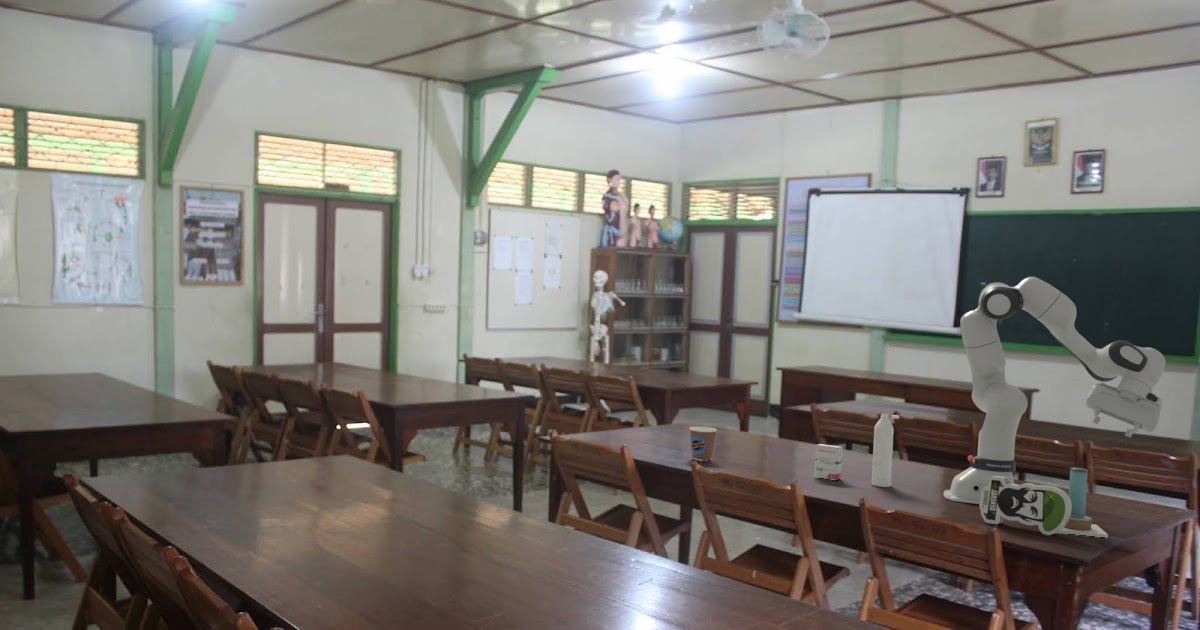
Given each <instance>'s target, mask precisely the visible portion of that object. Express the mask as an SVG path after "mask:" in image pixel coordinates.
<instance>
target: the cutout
mask: <svg viewBox="0 0 1200 630" xmlns="http://www.w3.org/2000/svg"><path fill="white" fill-rule="evenodd" d="M978 506H979V509H980V515H981V517H982V519H983V522H985V523H986V524H992V525H999V524H1001V523H1003V522H1004V519H1005V520H1007V521H1012V522H1013V521H1014V522H1015V521H1016V522H1019V523H1021V524H1022V525H1026V526H1029V527H1030V526H1037V528H1038V530H1039V532H1040V533H1041V534H1043V535H1045V534H1046V535H1045V536H1052V535H1054V534H1057V532H1058V531H1060V530H1061V529H1063V528H1064V527H1065V525H1066V524H1067V523H1068V521H1069V519H1070V516H1071V510H1072V504H1071V500H1070V497H1069V493H1067V492H1066V491H1065V490H1063V489H1062V488H1059V487H1057V486H1054V485H1046V484H1045V485H1043V484H1035V483H1030V482H1027V483H1022V484H1017V483H1014V484H1011V483H1010V482H1009V480H1008V479H1007V478H1006V477H1003V476H992V477H990V478H989V482H988V486H987V487H984V488H983V489H982V492H981V499H980V504H978Z"/></svg>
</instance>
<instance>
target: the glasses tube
mask: <svg viewBox="0 0 1200 630" xmlns="http://www.w3.org/2000/svg"><path fill="white" fill-rule="evenodd" d="M1088 472H1089V469H1087V468H1083V467H1070V468H1069V485H1068V496H1069V497H1070V500H1071V504H1072V510H1071V516H1070V517H1071V518H1077V519H1084V518H1085V516H1086V507H1087V506H1086V505H1087V504H1086V503H1087V491H1088V490H1087V487H1088Z"/></svg>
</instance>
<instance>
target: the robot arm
mask: <svg viewBox="0 0 1200 630" xmlns="http://www.w3.org/2000/svg"><path fill="white" fill-rule="evenodd" d="M1021 310H1022V311H1024V312H1027V313H1028V314H1030V315H1031V316H1032V317H1033V318H1035V319H1036V320H1037V321H1038V322H1040V323H1041V324H1042V325H1044V327H1046V328H1047V330H1048V331H1049V332H1050V334H1051V336H1052V337H1053V338H1054V339H1055V340H1056V341H1057V342H1058V343H1059V344H1060V345H1061V346H1063V348H1064V349H1066V350H1067V351H1068V352H1069V353H1070V354H1071V355H1072V356H1073V357H1075V358H1076V359H1077V360H1078V361H1079V362H1080V363H1081V364H1082V365H1083V368H1084V369H1085V370H1086V371H1087V373H1088V374H1089V376H1090V377H1092V378H1093V379H1094V380H1096V381H1099V382H1101V383H1096V384H1094V385H1093V388H1092V390H1091V392H1090V393H1089V395H1088V396H1087V397H1086V399H1085V404H1086V407H1087V408H1088V409H1090V410H1093V411H1094V418H1093V420H1092V423H1093V424H1096V425H1099V423H1100V422H1101V417H1100V414H1103V415H1106V416H1108V417H1111V418H1114V419H1115V420H1118V421H1121V422H1122V423H1123V422H1124V423H1126V424H1128V425H1131V426H1133V427H1132V428H1131V429H1130V428H1127V429H1126V431H1125V434H1124V436H1125V437H1128V438H1131V437H1132V435H1133V434H1135V433H1138V432H1139V431H1140V430H1144V431H1146V432H1149V433H1152V432H1155V431H1156V429H1157V426H1158V425H1159V422H1160V421H1159V420H1160V416H1161V410H1162V408H1163V400H1162V398H1161V397H1159V396H1157V395H1156V394H1154V393H1153V388H1154V387H1155V386H1156V385H1157V384H1158V383H1159V381H1160V379H1161V377H1162V375H1163V373H1164V371H1165V367H1166V358H1165V356H1164V355H1163V353H1162V352H1160V351H1159V350H1157V348H1156V349H1155V348H1154V347H1149V346H1148V347H1141V346H1137V345H1135V344H1133V343H1131V342H1130V341H1127V340H1125V339H1124V340H1123V339H1122V340H1121V339H1119V340H1115V341H1113V342H1111V343H1109V344H1107V345H1105V346H1104V347H1102V348H1099V347H1098V348H1097V347H1095V346H1094V345H1092V344H1091V343H1090V342H1089V341H1088V340H1087V339H1086V338H1085V337H1084V336H1082V334H1080V333H1079V332H1078V331H1077V329H1076V328H1075V322H1076V319H1077V314H1078V313H1077V307H1076V304H1075V303H1074V302H1073V301H1072V300H1071V298H1069V297H1068V295H1066V294H1064V292H1061V291H1060V290H1059V289H1057V288H1056V287H1055V286H1053V285H1051V284H1050V283H1047V282H1046V281H1045V280H1042V279H1040V278H1038V277H1036V276H1028V277H1025V278H1023V279H1022V280H1020V282H1018V284H1017V285H1015V286H1010V285H1009V284H1007V283H1005V282H1002V281H992V282H989V283H987V284H986V285H984V287H982V289H981V291H980V293H979V295H978V300H977V304H976V308H975V309H972V310H969V311H967V312H965V313H964V314H963V315H962V316H961V318H960V322H959V323H960V333H961V338H962V344H963V346H964V350H965V353H966V356H967V360H968V364H969V367H970V373H971V382H972V392H971V398H972V401H973V404H974V405H975V406H976V407H977V408H978V409H979V410H980V411H981V412H984V413H986V414H985V418H984V422H983V424H982V427H981V429H980V430H979V432H978V442H977V445H978V446H977V455H975V456H974V455H971V454H970V455H968V456H967V460H968V462H970V466H969V467H968V468H967V469H964V470H963V471H962V472H960V473H957V474H956V475H955V476H954V477H953V479H952V482H951V484H950V489H945V490H944V491H943V497H944V498H945V499H947V500H949V501H952V502H959V503H968V504H974V505H975V504H976V505H979V504H980V499H981V492H982V489H983V488H984V487H987V486H988V482H989V478H990V477H992V476H1003V477H1006V478H1007V479H1008V480H1009V482H1010V483H1011V484H1015V483H1014V482H1015V481H1014V478H1015V475H1016V459H1015V448H1016V446H1015V445H1016V436H1017V431H1018V428H1019V425H1020V421H1021V418H1022V416H1023V414H1024V413H1026V411H1027V408H1028V405H1029V404H1028V403H1029V402H1028V398H1027V396H1026V395H1025V393H1024V392H1023V391H1022V390H1020V388H1018V387H1016V386H1014V385H1010V384H1008V383H1007V380H1006V370H1005V369H1006V364H1007V358H1006V356H1005V352H1004V349H1003V346H1002V345H1003V344H1002V342H1001V339H1000V336H999V333H998V329H997V322H998V321H999V320H1000V321H1001V320H1004V319H1007V318H1009V317H1011V316H1012V315H1014V314H1016V313H1018V312H1019V311H1021ZM1119 376H1120V377H1122V379H1121V380H1120V382H1119V384H1118V386H1117V387H1115V386H1112V385H1110V384H1109V385H1108V384H1106V382H1111V381H1113V380H1114V379H1116V378H1117V377H1119Z"/></svg>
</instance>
